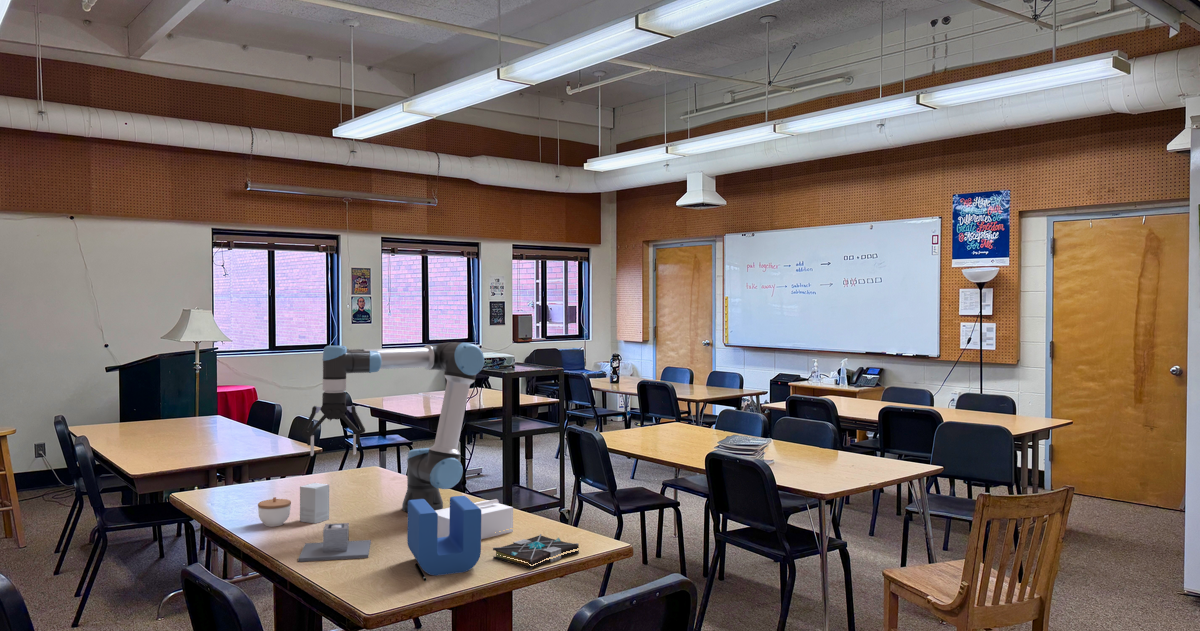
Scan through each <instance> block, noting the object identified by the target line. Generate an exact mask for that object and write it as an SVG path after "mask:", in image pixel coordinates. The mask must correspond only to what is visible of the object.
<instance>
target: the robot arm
mask: <svg viewBox="0 0 1200 631" xmlns="http://www.w3.org/2000/svg"><path fill="white" fill-rule="evenodd" d="M484 365H485V356H484V352H483V351H482V350H481V348H480V347H479V346H478V345H476V344H473V343H470V342H456V341H455V342H453V341H451V342H449V341H448V342H443V343H436V344H435V343H434V344H426V345H424V347H395V348H392V347H391V348H362V349H359V348H358V349H357V348H356V349H355V348H354V349H352V348H351V349H349V348H347V346H346V345H326V346H325V347H324V348H323V353H322V391H323V392H322V394H321V395H322V399H321V400H322V403H321V404H322V405H321V406H317V405H314V406H312V408H311V413H310V416H309V417H308V419H307V420H306V423H305V425H304V426H303V429H302V430H301V435H305V436H306V439H307V441H306V445H307V446H310V451H309V452H310V455H309V456H311V457H313V456H314V455H315V435H313V434H314V432H315V431H316V430H317V428H319V426H320V425H321V424H323V422H324V421H325V420H326V419H327V420H343V421H344V423H345V424H346V425H347V426H348V428H350V430H352V431H353V433H354V434H353V436H352V438H353V443H352V451H353V452H352V455H353V456H355V455H357V445H360V441H361V440H360V439H361V436H360V435H361V434H365V432H366V428H365V426H364V423H363V422H362V420H361V419H360V416H359V415H358V412H357V407H356V405H354V404H352V405H351V406H347V393H346V390H347V374H364V373H367V374H368V373H369V374H371V373H378V372H379V371H380V370H389V369H394V370H395V369H417V368H418V369H419V368H424V369H425V370H426V371H427V370H428V371H430V370H431V371H432V370H433V371H442V372H444V374H443V376H444V378H445V379H446V385H445V390H444V395H443V401H442V405H441V408H440V415H439V420H438V424H437V430H436V435H435V440H434V444H433V445H432V446H430V447H426V448H425V447H423V448H414V449H411V450H409V451H408V453H407V458H406V460H407V473H406V474H407V476H406V478H407V487H406V491H405V494H404V498H403V500H402V505H401V509H402V511H403V512H405V513H408V501H409V500H416V499H425V500H426V502H427V503H428V504H429V505H430V506H431V507H432V508H433V509H434V510H440V509H444V501H443V498H442V495H441V491H440V490H449V489H452V488H454V487H455V486H456V485H457V484H459V482H460V481H461V479H462V476H463V473H464V470H463V465H462V463H461V462H460V459H461V452H460V451H459V449H458V447H459V441H460V438H461V437H460V436H461V433H462V432H461V431H462V429H463V428H462V427H463V422H464V417H465V412H466V407H467V402H468V397H469V392H470V386H471V385H472V384H473V383H474V382H475V381H476V376H477V374H479V373H480V372H481V371H482V369H483V368H484ZM320 411H321V413H322V414H323V415H322V416H321V417H320V419H319V420H317V422H316V423H315V424H314V426H313V427H312V428H311V429H310V430H308V429H309V427H310V425H311V423H312V422H313V420H314V418H315V417H316V415H317V414H318V413H319V412H320ZM347 411H348V412H349V413H351V414H352V416H353V419H354V421H355V422H356V424H357V426H358V428H357V427H356V425H355V424H354V423H353V422H352V421H351V420H350V418H348V416H347V415H346V414H345V413H346V412H347Z"/></svg>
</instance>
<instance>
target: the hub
mask: <svg viewBox="0 0 1200 631" xmlns="http://www.w3.org/2000/svg"><path fill="white" fill-rule="evenodd" d="M349 523H350V522H340V523H325V525H324V527H323V530H322V531H323V532H322V542H323V553H327V552H345V551H347V549H348V545H349V541H350V540H349V539H350V538H349V532H350V531H349V530H350V527H349V526H350V524H349ZM333 525H341V528H331V526H333Z"/></svg>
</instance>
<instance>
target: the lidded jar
mask: <svg viewBox="0 0 1200 631" xmlns="http://www.w3.org/2000/svg"><path fill="white" fill-rule="evenodd" d="M291 503H292V501H291V500H289V499H287V498H277V497H273V498H272V499H266V500H262V501H260V502H258V504H257V507H258V508H257V509H258V510H257V511H258V518H259V520H260V522H262V524H264V526H265V527H271V528H273V527H279V526H283V525H284V524H285V523H286V521H287V520H288V518H289V517H290V514H291V505H292V504H291Z"/></svg>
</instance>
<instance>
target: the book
mask: <svg viewBox="0 0 1200 631" xmlns="http://www.w3.org/2000/svg"><path fill="white" fill-rule="evenodd" d="M579 546H580V545H579V543H572V542H567V541H562V540H561V539H560V537H557V538H556V539H555V538H550V537H547V536H544V535H542V534H541V533H540V534H539V535H536V536H533V537H530V538H527V539H524V538H523V539H520V540H517V541H513V542H512V543H511V544H507V545H504V546H501V547H499V546H498V547H497V546H496V547H492V551H495V555H494V556H493V559H496V560H500V561H505V562H508V563H512V564H515V565H518V566H520V567H524V568H526V569H529V570H531V571H532V570H533V569H534V568H537V567H539V566H541V565H544V564H547V563H554V562H556V561H559V560H561V559H563V558H565V557H569V556H573V555H575V554H580V550H578V551H575V552H571V553H567V554H564V555H561V556H558V557H556V558H553V559H549V560H545V561H543V562H541V563H538V562H540V561H542V560H544V559H546V558H549V557H553V556H556V555H558V554H561V553H563V552H566V551H570V550H573V549H577V548H579V549H580V547H579ZM497 554H498V555H497ZM500 555H501V556H500ZM503 556H506V557H503ZM507 557H510V558H514V559H518V560H522V561H525V562H528V563H529V564H531V565H533V564H535V563H538V564H536V565H534V566H530V565H529V564H528V563H524V562H521V561H517V560H514V559H510V558H507Z"/></svg>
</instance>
